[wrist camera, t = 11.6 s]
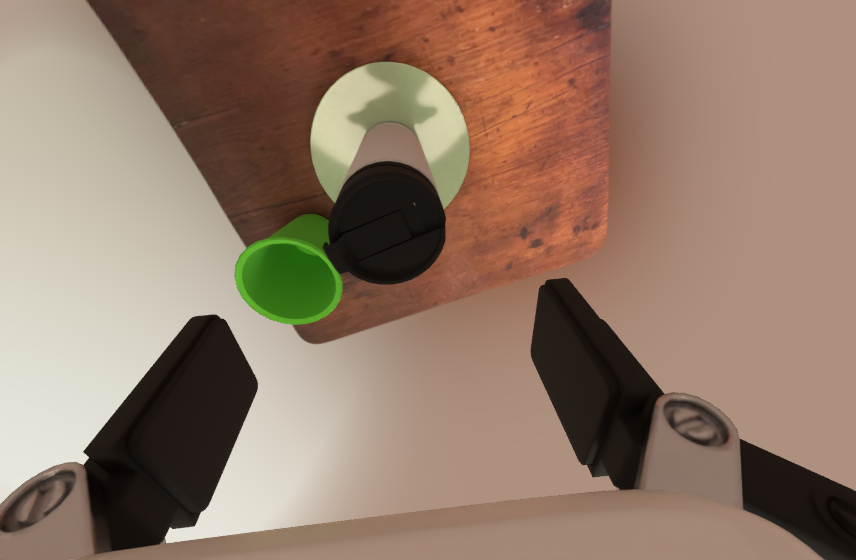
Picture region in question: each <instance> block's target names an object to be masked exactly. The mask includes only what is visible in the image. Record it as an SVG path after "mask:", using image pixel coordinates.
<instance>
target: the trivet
mask: <svg viewBox="0 0 856 560" xmlns="http://www.w3.org/2000/svg"><path fill="white" fill-rule="evenodd" d="M387 121H393V122H398V123H401V124H404V125H405V126H407V127H409V128H410V129H411V130H412V131H413V132H414V133H415V135H416V136H417V137H418V139H419V141H420V144H421V146H422V149H423V152H424V154H425V157H426V160H427V162H428V165H429V168H430V170H431V173H432V176H433V179H434V181H435V184H436V187H437V189H438V192H439V195H440V198H441V202H442V206H443V209H444V208H445V207H446V206H447V205H448V204H449V203H450V202H451V201H452V200H453V198H454V197H455V196H456V194H457V192H458V191H459V189H460V187H461V185H462V183H463V181H464V178H465V175H466V172H467V168H468V163H469V153H470V144H469V135H468V129H467V125H466V122H465V119H464V116H463V114H462V112H461V110H460V107H459V105H458V104H457V102H456V101H455V99H454V98H453V96H452V95H451V94H450V92H449V91H448V90H447V89H446V88H445V87H444V86H443V85H442V84H441V83H440V82H439V81H438V80H437V79H435V78H434V77H432V76H431V75H430V74H428V73H427V72H425V71H423V70H420V69H418V68H416V67H414V66H410V65H407V64H404V63H398V62H376V63H369V64H366V65H363V66H360V67H357V68H355V69H353V70H351V71H349V72H347V73H346V74H345V75H343V76H342V77H341V78H339V79H338V80H337V81H336V82H335V83H334V84H333V85H332V86H331V87H330V88H329V89H328V91H327V92H326V93H325V95H324V96H323V98H322V99H321V101H320V103H319V105H318V107H317V110H316V112H315V115H314V118H313V122H312V127H311V136H310V147H311V156H312V161H313V165H314V168H315V172H316V174H317V177H318V179H319V181H320V183H321V185H322V186H323V188H324V190H325V191H326V193H327V194H328V195H329V197H330V198H331V199H332V201H333V202H334V203H335V202H336V200H337V195H338V193H339V191H340V188H341V186H342V184H343V182H344V179H345V177H346V175H347V173H348V171H349V168H350V166H351V164H352V162H353V160H354V157H355V155H356V153H357V151H358V149H359V146H360V144H361V142H362V140H363V138H364V136H365V134H366V133H367V132H368V130H370V129H371V128H372V127H373V126H375V125H377V124H379V123H382V122H387Z"/></svg>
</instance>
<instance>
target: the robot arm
mask: <svg viewBox="0 0 856 560" xmlns="http://www.w3.org/2000/svg"><path fill="white" fill-rule="evenodd" d="M531 357H532V360H533V362H534V365H535V367H536V369H537V371H538V374H539V376H540V378H541V380H542V382H543V384H544V387H545V389H546V391H547V393H548V395H549V397H550V400H551V402H552V404H553V406H554V408H555V410H556V412H557V415H558V417H559V419H560V421H561V423H562V426H563V428H564V430H565V432H566V434H567V436H568V439H569V441H570V443H571V445H572V447H573V450H574V451H575V454H576V456H577V458H578V460H579V462H580V463H581V464H582V465H587V466H588V468H589V470H590V472H591V474H592V477H600V476H608V475H609V477H610V479H611V481H612V483H613V485H614V486H616V487H617V489H616V491H598V492H588V493H578V494H568V495H558V496H548V497H538V498H529V499H520V500H512V501H503V502H495V503H487V504H478V505H470V506H461V507H452V508H444V509H435V510H427V511H419V512H411V513H403V514H394V515H387V516H378V517H370V518H363V519H354V520H346V521H338V522H331V523H322V524H314V525H306V526H298V527H290V528H282V529H274V530H266V531H259V532H252V533H244V534H235V535H228V536H220V537H213V538H205V539H197V540H190V541H181V542H174V543H167V544H166V540H165V536H166V534H167V532H168V530H169V528H170V527H171V528H172V529H176V528H185V527H192V526H195V524H196V522H197V520H198V518H199V515H200V513H201V512H202V511H204V510H205V509H206V508H207V507H208V505H209V503H210V501H211V499H212V496H213V494H214V491H215V489H216V487H217V484H218V482H219V480H220V477H221V475H222V473H223V470H224V468H225V466H226V463H227V461H228V458H229V456H230V454H231V451H232V449H233V447H234V444H235V442H236V440H237V437H238V435H239V433H240V430H241V428H242V425H243V423H244V421H245V418H246V416H247V414H248V411H249V409H250V407H251V404H252V402H253V399H254V397H255V395H256V392H257V389H258V382H257V379H256V377H255V375H254V373H253V371H252V369H251V367H250V366H249V364H248V362H247V360H246V358H245V356H244V354H243V352H242V350H241V348H240V346H239V344H238V343H237V341H236V339H235V337H234V335H233V333H232V331H231V329H230V327H229V326H228V324H227V322H226V320H224V319H220V317H218V316H217V315H204V316H195V317H192V318H191V319H190V320H189V321H188V322H187V324H186V325H185V326H184V327H183V329H182V330H181V331H180V332H179V334H178V335H177V336H176V337H175V338H174V340H173V341H172V342H171V343H170V345H169V346H168V347H167V348H166V350H165V351H164V352H163V353H162V355H161V356H160V357H159V358H158V360H157V361H156V362H155V364H153V366H152V367H151V368H150V370H149V371H148V372H147V373H146V374H145V376H144V377H143V378H142V379H141V381H140V382H139V383H138V384H137V386H136V387H135V388H134V389H133V391H132V392H131V393H130V394H129V395H128V397H127V398H126V399H125V400H124V402H123V403H122V404H121V406H120V407H119V408H118V409H117V410H116V412H115V413H114V414H113V415H112V417H111V418H110V419H109V420H108V422H107V423H106V424H105V425H104V427H103V428H102V429H101V430H100V431H99V433H98V434H97V435H96V437H95V438H94V439H93V440H92V441H91V443H90V444H89V445H88V446H87V448H86V449H85V450H84V451H83V452H84V453H85V454H86V455H87V456H88V457H89V459H88V460H87V461H86V462H85V464H84V465H82V464H79V463H77V462H68V463H63V464H60V465H57V466H53V467H51V468H49V469H47V470H45V471H43V472H41V473H39V474H37V475H36V476H34V477H32V478H31V479H29V480H28V481H26V482H25V483H23V484H22V485H21V486H20V487H18V488H17V489H16V490H15V491H14V492H12V493H11V494H10V495H9V496H8V497H7V498H6V499H5V500H4V501H3V502H2V503H1V505H0V560H856V491H854V490H852V489H850V488H848V487H846V486H843V485H841V484H839V483H837V482H835V481H832V480H830V479H828V478H826V477H824V476H821V475H819V474H817V473H815V472H812V471H810V470H808V469H806V468H804V467H801V466H799V465H797V464H795V463H792V462H790V461H788V460H786V459H784V458H781V457H779V456H777V455H775V454H772V453H770V452H768V451H766V450H764V449H761V448H759V447H757V446H755V445H753V444H750V443H748V442H746V441H744V440H742V439H739V435H738V431H737V429H736V427H735V426H734V424H733V423H732V421H731V420H730V419H729V418H728V417H727V416H726V415H725V414H724V413H723V412H722V411H721V410H720V409H718V408H717V407H715V406H714V405H712V404H711V403H709V402H707V401H705V400H703V399H701V398H699V397H697V396H693V395H689V394H686V393H674V392H673V393H668V394H664V393H663V392H662V390H661V389H660V388H659V387H658V385H657V384H656V383H655V382H654V380H653V379H652V378H651V377H650V376H649V374H648V373H647V372H646V371H645V370H644V368H643V367H642V366H641V365H640V363H639V362H638V361H637V360H636V358H635V357H634V356H633V355H632V354H631V352H630V351H629V350H628V349H627V347H626V346H625V345H624V344H623V343H622V341H621V340H620V339H619V338H618V336H617V335H616V334H615V333H614V331H613V330H612V329H611V328H610V326H609V325H608V324H607V323H606V322H605V321H604V320H602V319H600V318H599V317H598V315H597V314H596V313H595V312H594V310H593V309H592V308H591V307H590V305H589V304H588V303H587V302H586V300H585V299H584V298H583V297H582V295H581V294H580V293H579V292H578V290H577V289H576V288H575V287H574V285H573V284H572V283H571V282H570V280H569V279H567V278H561V279H551V280H547V281H546V282H545V285H541V286H540V288H539V293H538V301H537V308H536V315H535V323H534V329H533V336H532V344H531Z"/></svg>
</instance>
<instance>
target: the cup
mask: <svg viewBox="0 0 856 560" xmlns="http://www.w3.org/2000/svg"><path fill="white" fill-rule="evenodd" d="M328 223H329V220H327V219H326V218H324V217H322V216H320V215H317V214H304V215H301V216H299V217H297V218H296V219H294V220H293V221H291V222H290V223H289V224H287V225H286V226H284V227H283V228H281V229H280V230H279V231H277V232H276V233H274V234H273V235H271V236H270V237H269V238H267V239H264V240H260V241H257V242H256V243H254V244H252V245H250V246H249V247H247V248H246V249H245V251H244V252H243V253H242V254H241V255H240V256H239V259H238V261H237V263H236V266H235V280H236V285H237V288H238V290H239V292H240V294H241V296H242V298H243V299H244V300H245V301H246V303H247V304H248V305H249V306H250V307H251V308H252V309H254V310H255V311H256V312H258V313H259V314H261V315H263V316H265V317H267V318H269V319H271V320H274V321H277V322H281V323H286V324H294V325H295V324H307V323H311V322H315V321H317V320H319V319H321V318H323V317H325V316H327V315H328V314H329V313H330V312H331V311H333V310H334V309H335V307H336V306H337V304H338V303H339V301H340V298H341V295H342V279H341V276H340V274H339V273H338V272H337V271H336V270H335V268H334V267H333V265H332V264H331V262H330V261H329V259H328V257H327V256H326V254H325V252H324V250H323V244H324V243H325V242H327V243H328V245H329V244H330V243H329V236H328Z"/></svg>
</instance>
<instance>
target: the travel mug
mask: <svg viewBox="0 0 856 560" xmlns="http://www.w3.org/2000/svg"><path fill="white" fill-rule="evenodd" d="M445 221H446V217H445V213H444V209H443V206H442V202H441V198H440V195H439V192H438V189H437V187H436V184H435V181H434V179H433V176H432V173H431V170H430V168H429V165H428V162H427V160H426V157H425V154H424V152H423V149H422V146H421V144H420V141H419V139H418V137H417V136H416V135H415V133H414V132H413V131H412V130H411V129H410V128H409V127H407V126H405V125H404V124H401V123H398V122H393V121H387V122H382V123H379V124H377V125H375V126H373V127H372V128H371V129H370V130H368V132H367V133H366V134H365V136H364V138H363V140H362V142H361V144H360V146H359V149H358V151H357V153H356V155H355V157H354V160H353V162H352V164H351V166H350V168H349V171H348V173H347V175H346V177H345V179H344V182H343V184H342V186H341V188H340V191H339V193H338V195H337V200H336V202H335V204H334V207H333V209H332V211H331V214H330V218H329V223H328V236H329V243H330V244H329V245H328V243H327V242H325V243H324V244H323V250H324V252H325V254H326V256H327V257H328V259H329V261H330V262H331V264H332V265H333V267H334V268H335V270H336V271H337V272H338V273H339V274H342V273H344V272H347V271H348V272H350V273H351V274H352V275H354V276H356V277H357V278H359V279H362V280H364V281H367V282H370V283H375V284H397V283H402V282H405V281H408V280H411V279H413V278H415V277H417V276H419V275H420V274H422V273H423V272H424V271H426V270H427V269H428V268H429V267H430V266H431V265H432V264H433V263H434V262H435V261H436V259H437V258H438V256H439V254H440V253H441V251H442V249H443V246H444V243H445Z"/></svg>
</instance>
